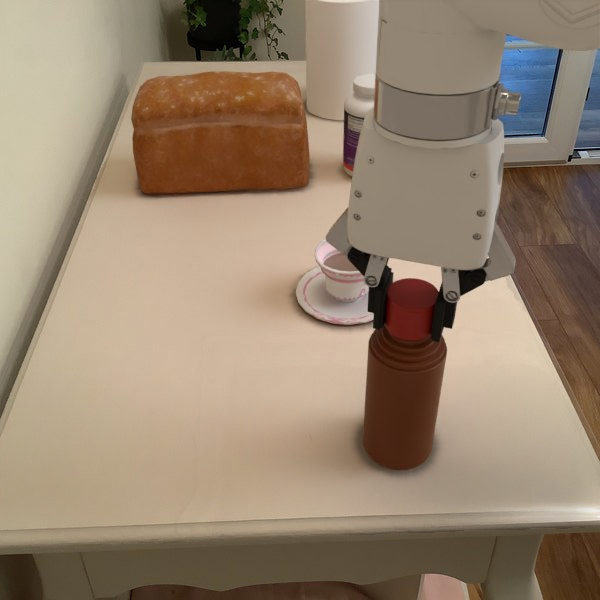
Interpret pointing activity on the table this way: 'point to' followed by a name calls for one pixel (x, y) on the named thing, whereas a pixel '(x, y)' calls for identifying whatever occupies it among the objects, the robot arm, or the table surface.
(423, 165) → the robot arm
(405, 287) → the cap
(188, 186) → the bread
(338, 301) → the teacup
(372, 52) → the canister
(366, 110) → the pill bottle
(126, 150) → the table surface
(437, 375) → the bottle
